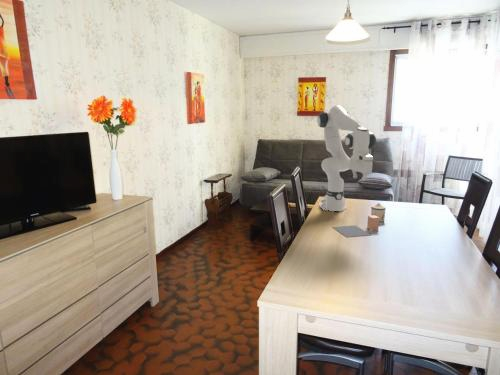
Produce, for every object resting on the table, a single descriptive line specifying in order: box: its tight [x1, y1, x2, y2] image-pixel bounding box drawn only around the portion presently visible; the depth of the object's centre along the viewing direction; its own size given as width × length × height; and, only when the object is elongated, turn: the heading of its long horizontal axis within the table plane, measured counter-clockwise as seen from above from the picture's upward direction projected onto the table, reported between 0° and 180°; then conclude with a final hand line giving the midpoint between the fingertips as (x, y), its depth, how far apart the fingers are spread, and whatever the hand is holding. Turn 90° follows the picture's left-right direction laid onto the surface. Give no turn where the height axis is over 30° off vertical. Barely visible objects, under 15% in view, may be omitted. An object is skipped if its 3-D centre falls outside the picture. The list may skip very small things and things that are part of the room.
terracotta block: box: [366, 214, 380, 231], centre depth 214 cm, size 5×4×8 cm
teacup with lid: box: [370, 202, 386, 223], centre depth 233 cm, size 12×9×12 cm
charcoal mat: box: [332, 225, 372, 238], centre depth 210 cm, size 18×16×1 cm
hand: (359, 179), depth 207 cm, fingers open, 8 cm apart
